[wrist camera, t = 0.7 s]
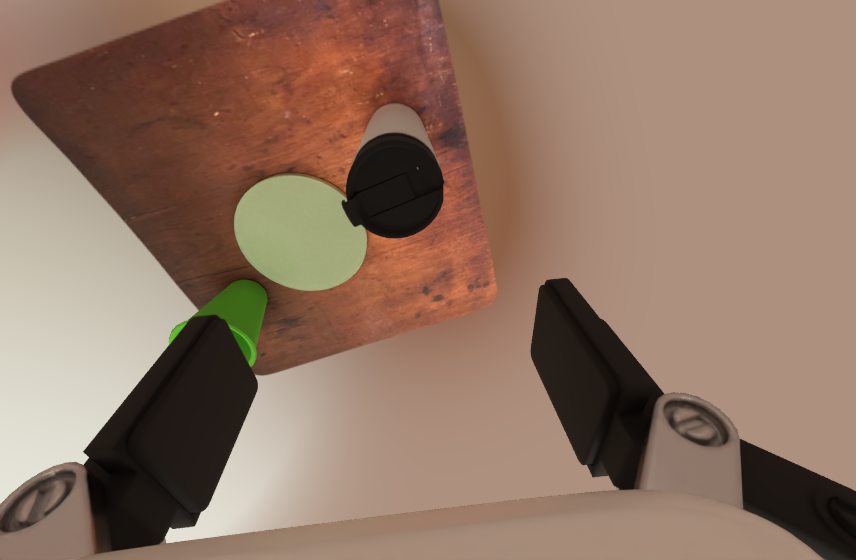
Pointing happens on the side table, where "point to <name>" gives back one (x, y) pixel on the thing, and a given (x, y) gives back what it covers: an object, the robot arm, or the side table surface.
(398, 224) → the travel mug
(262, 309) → the cup
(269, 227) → the trivet
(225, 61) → the side table surface
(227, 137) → the side table surface
